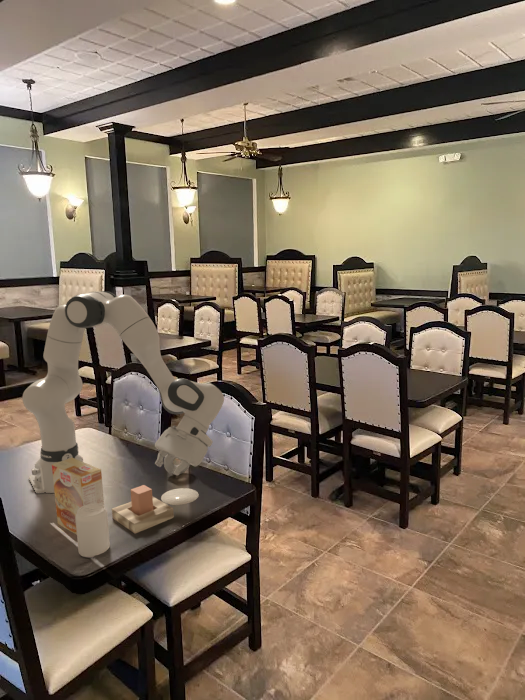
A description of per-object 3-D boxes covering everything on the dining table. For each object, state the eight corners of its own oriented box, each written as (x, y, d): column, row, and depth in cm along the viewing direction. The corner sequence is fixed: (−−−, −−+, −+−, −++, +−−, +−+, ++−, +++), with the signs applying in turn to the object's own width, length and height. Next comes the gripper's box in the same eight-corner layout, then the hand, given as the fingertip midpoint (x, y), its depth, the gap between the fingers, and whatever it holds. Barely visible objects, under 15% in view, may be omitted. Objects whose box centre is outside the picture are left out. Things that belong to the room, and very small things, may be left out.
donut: (166, 479, 189) (164, 452, 187) (163, 475, 192) (161, 449, 190) (192, 473, 194) (191, 447, 192) (189, 470, 197) (188, 444, 195)
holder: (112, 521, 160) (111, 508, 159) (150, 506, 169) (149, 494, 168) (135, 536, 151) (134, 523, 150) (173, 520, 159) (173, 508, 159)
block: (132, 517, 160) (130, 489, 158) (145, 512, 163) (143, 484, 161) (140, 523, 156) (138, 494, 155) (153, 517, 159) (151, 489, 158)
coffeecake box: (56, 526, 157) (50, 464, 154) (78, 517, 163) (72, 456, 159) (85, 543, 148) (79, 476, 144) (107, 532, 153) (102, 468, 150)
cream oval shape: (154, 499, 174) (153, 496, 173) (184, 487, 182) (184, 485, 181) (175, 511, 165) (174, 508, 165) (206, 498, 173) (206, 495, 173)
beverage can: (92, 562, 138) (89, 519, 136) (72, 554, 143) (68, 512, 141) (116, 547, 145) (113, 506, 143) (96, 540, 149) (92, 500, 147)
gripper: (165, 419, 174) (141, 456, 169) (204, 433, 159) (178, 474, 154) (177, 429, 177) (154, 465, 173) (216, 443, 163) (191, 484, 158)
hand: (165, 469), depth 163 cm, fingers open, 8 cm apart
